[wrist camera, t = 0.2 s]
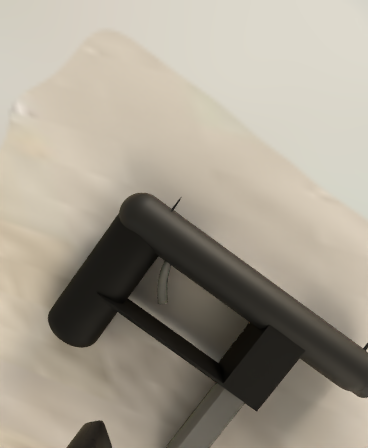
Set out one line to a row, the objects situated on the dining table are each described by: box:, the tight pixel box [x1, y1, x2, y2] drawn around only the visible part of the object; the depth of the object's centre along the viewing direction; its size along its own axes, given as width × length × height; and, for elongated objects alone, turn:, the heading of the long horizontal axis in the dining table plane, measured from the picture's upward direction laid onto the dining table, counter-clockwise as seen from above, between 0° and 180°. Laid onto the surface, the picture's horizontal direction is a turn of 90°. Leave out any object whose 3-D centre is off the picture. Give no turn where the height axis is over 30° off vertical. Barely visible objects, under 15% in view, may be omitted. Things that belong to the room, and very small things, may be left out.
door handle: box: [48, 193, 368, 448], centre depth 22 cm, size 3×20×16 cm
